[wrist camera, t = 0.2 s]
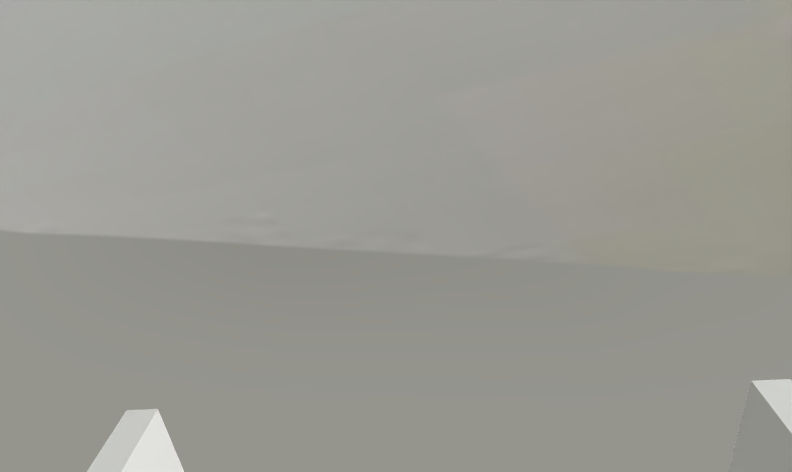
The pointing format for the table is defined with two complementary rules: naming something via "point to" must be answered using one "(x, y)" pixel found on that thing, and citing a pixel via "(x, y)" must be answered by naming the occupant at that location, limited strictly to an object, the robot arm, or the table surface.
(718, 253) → the table surface
